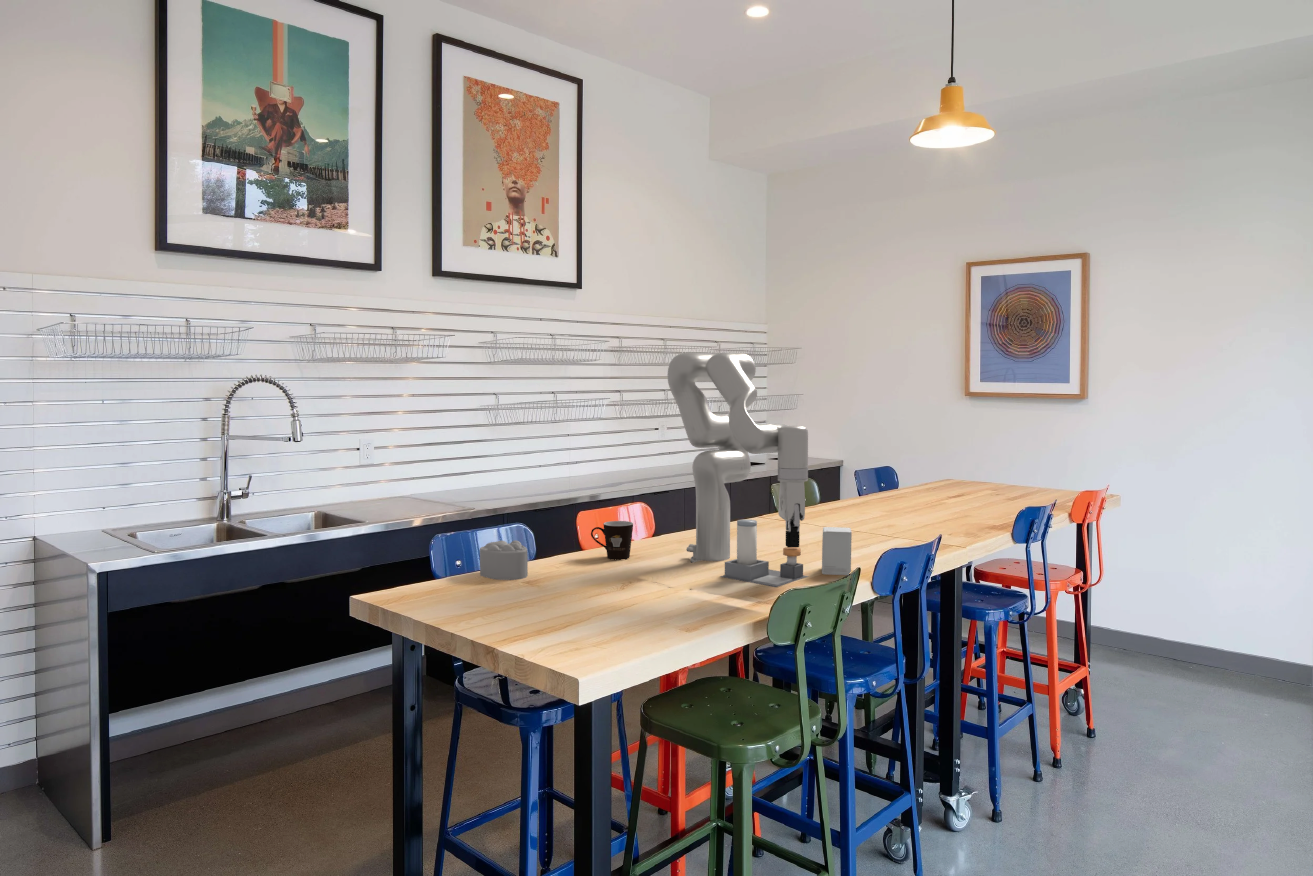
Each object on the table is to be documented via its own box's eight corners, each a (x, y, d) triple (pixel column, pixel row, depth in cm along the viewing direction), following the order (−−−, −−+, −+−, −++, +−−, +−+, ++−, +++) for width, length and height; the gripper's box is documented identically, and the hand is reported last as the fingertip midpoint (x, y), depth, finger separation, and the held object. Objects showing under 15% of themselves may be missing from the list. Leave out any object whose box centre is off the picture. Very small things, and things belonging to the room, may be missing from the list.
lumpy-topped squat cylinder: (505, 568, 235) (505, 536, 234) (537, 575, 226) (537, 542, 226) (474, 575, 227) (474, 542, 226) (506, 582, 218) (506, 548, 218)
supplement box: (851, 581, 219) (851, 532, 218) (821, 579, 221) (822, 531, 220) (850, 574, 226) (851, 527, 226) (821, 573, 228) (822, 526, 227)
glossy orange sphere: (779, 566, 218) (779, 548, 218) (789, 563, 221) (789, 546, 221) (794, 568, 215) (794, 551, 215) (803, 566, 218) (804, 548, 218)
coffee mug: (639, 556, 249) (639, 522, 249) (622, 562, 242) (622, 527, 241) (606, 552, 255) (606, 519, 255) (589, 557, 248) (588, 523, 248)
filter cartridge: (732, 575, 219) (733, 521, 218) (744, 572, 223) (744, 518, 222) (749, 578, 216) (749, 523, 215) (760, 575, 219) (760, 520, 218)
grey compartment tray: (719, 582, 218) (719, 562, 218) (753, 572, 229) (753, 553, 229) (775, 593, 207) (776, 572, 207) (808, 582, 218) (808, 562, 218)
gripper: (772, 471, 224) (771, 541, 225) (784, 478, 209) (784, 552, 210) (800, 471, 224) (800, 541, 225) (814, 477, 209) (814, 552, 211)
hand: (792, 546), depth 218 cm, fingers closed
